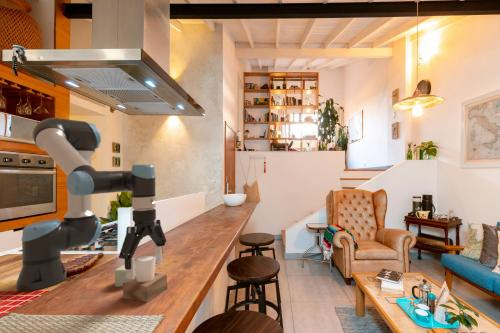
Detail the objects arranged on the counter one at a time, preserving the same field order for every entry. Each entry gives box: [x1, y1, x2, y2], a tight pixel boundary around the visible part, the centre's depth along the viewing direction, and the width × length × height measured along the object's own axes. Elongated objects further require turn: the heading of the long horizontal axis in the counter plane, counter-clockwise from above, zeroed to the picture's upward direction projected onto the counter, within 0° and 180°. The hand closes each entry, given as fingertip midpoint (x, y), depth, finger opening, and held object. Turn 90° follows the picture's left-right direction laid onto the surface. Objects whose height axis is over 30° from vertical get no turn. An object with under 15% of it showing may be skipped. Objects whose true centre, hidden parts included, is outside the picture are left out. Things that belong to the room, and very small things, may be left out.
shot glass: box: [134, 255, 156, 282], centre depth 90 cm, size 7×7×7 cm
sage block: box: [114, 263, 136, 287], centre depth 99 cm, size 6×6×6 cm
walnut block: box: [122, 272, 168, 303], centre depth 90 cm, size 10×10×5 cm
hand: (145, 270), depth 90 cm, fingers open, 13 cm apart
